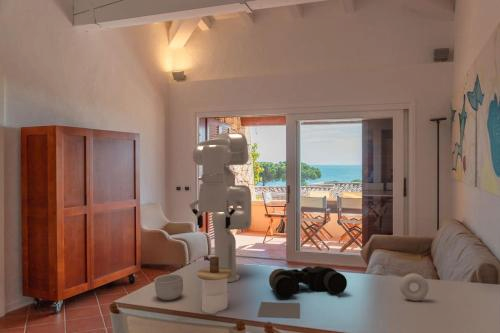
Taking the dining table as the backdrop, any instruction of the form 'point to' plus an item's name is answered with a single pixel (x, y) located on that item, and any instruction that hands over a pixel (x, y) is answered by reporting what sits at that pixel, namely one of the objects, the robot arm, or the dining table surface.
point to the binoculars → (307, 280)
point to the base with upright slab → (214, 295)
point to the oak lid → (214, 271)
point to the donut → (414, 294)
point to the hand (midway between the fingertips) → (214, 227)
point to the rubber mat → (279, 310)
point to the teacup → (169, 286)
